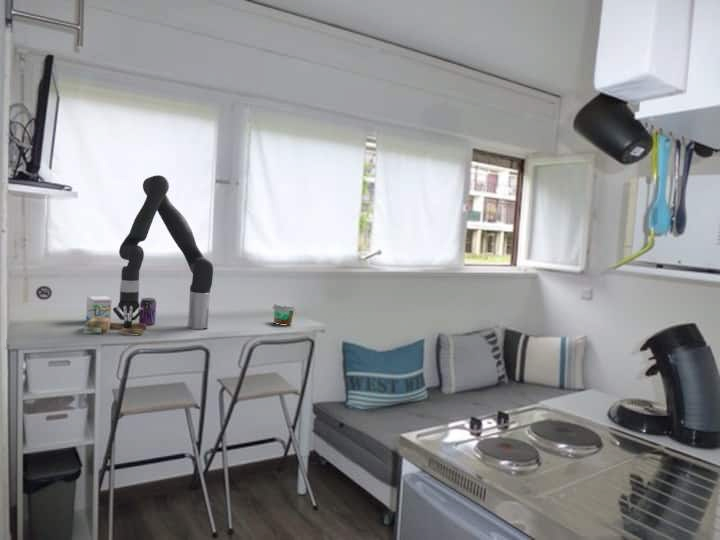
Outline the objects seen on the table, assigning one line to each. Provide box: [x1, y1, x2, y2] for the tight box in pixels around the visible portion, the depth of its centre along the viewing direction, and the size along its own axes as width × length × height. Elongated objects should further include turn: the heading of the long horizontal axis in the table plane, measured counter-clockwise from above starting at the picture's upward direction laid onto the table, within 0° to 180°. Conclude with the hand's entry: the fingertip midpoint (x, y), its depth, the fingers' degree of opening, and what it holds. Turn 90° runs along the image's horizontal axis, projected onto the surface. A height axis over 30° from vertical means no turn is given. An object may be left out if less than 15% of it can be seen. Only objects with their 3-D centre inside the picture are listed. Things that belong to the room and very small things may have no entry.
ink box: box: [85, 295, 113, 322], centre depth 242 cm, size 8×8×12 cm
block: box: [89, 318, 111, 333], centre depth 228 cm, size 7×7×5 cm
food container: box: [272, 302, 296, 324], centre depth 276 cm, size 12×6×10 cm, turn 68°
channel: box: [83, 319, 148, 336], centre depth 229 cm, size 23×12×4 cm, turn 105°
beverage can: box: [138, 297, 157, 326], centre depth 248 cm, size 7×7×12 cm
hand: (127, 329), depth 230 cm, fingers closed
